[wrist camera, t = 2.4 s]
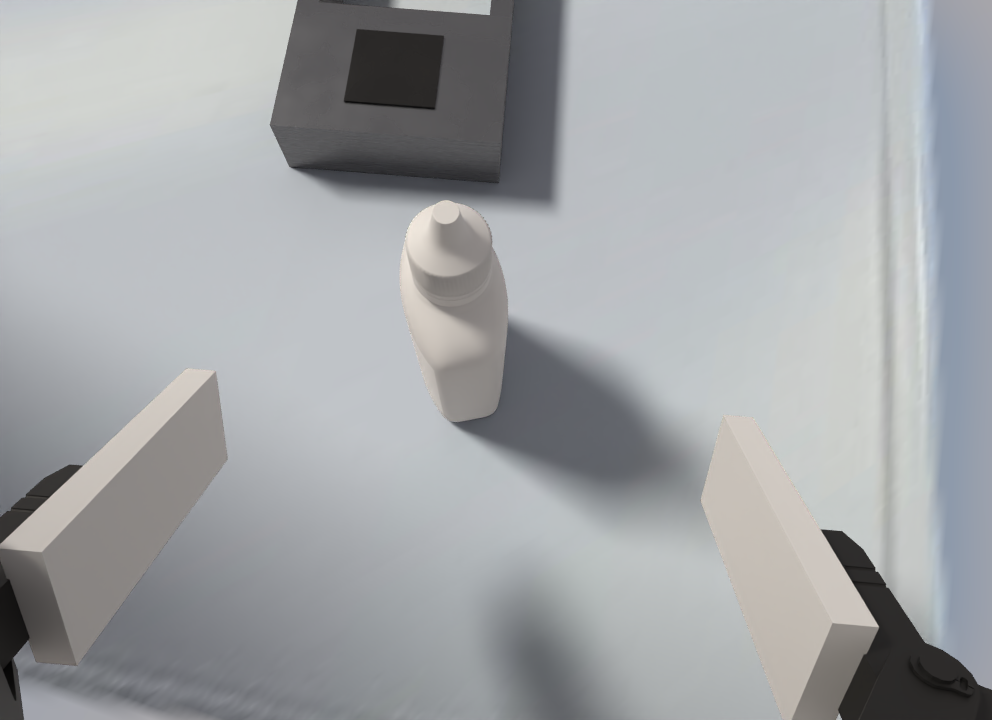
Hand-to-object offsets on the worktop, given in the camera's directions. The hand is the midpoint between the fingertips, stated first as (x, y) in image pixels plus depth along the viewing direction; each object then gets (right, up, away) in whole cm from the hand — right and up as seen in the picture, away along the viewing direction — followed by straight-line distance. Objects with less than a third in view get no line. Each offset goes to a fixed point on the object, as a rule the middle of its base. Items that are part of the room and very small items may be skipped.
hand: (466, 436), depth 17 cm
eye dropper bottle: (-1, +2, +11) cm, 11 cm away
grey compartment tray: (-3, +21, +17) cm, 28 cm away
